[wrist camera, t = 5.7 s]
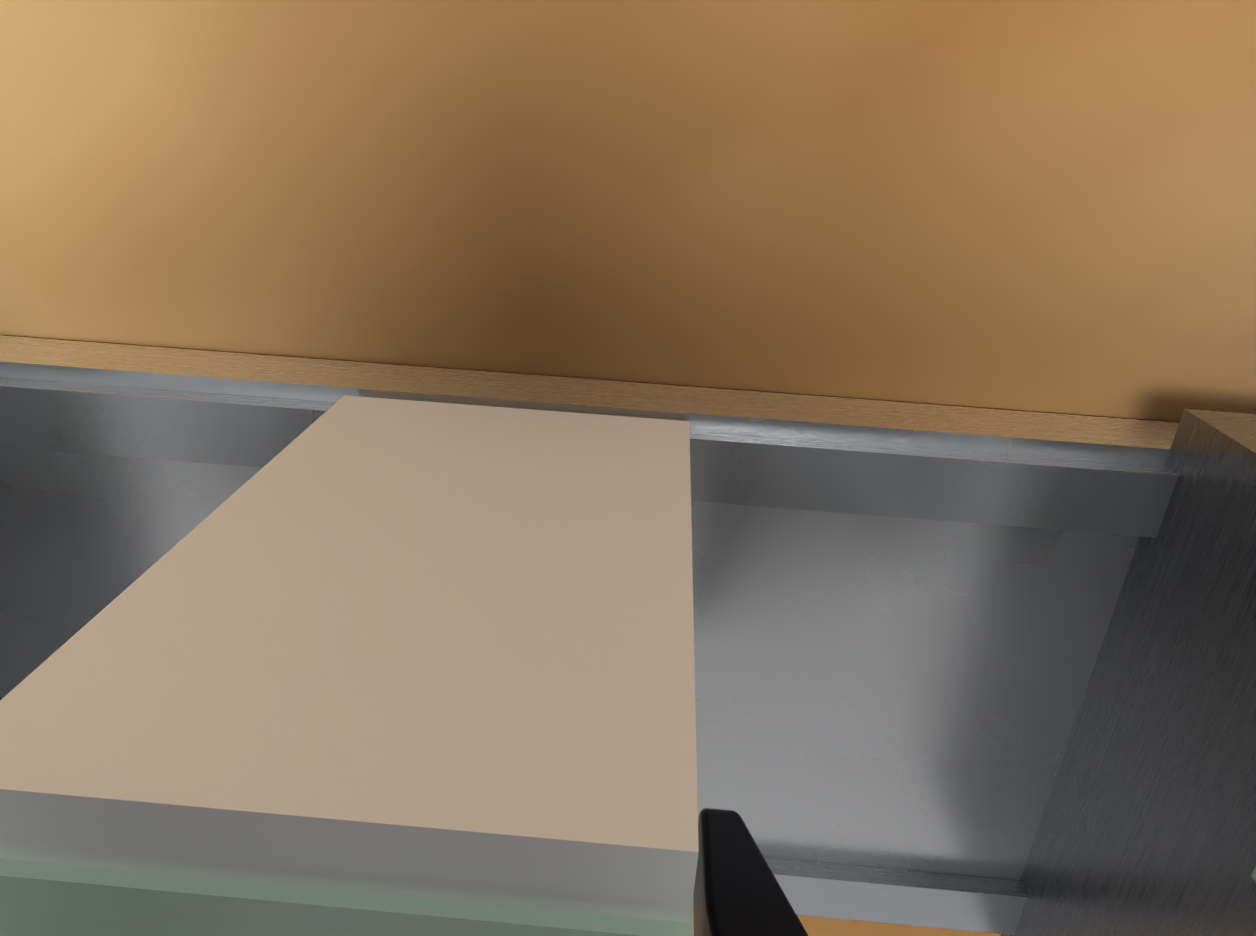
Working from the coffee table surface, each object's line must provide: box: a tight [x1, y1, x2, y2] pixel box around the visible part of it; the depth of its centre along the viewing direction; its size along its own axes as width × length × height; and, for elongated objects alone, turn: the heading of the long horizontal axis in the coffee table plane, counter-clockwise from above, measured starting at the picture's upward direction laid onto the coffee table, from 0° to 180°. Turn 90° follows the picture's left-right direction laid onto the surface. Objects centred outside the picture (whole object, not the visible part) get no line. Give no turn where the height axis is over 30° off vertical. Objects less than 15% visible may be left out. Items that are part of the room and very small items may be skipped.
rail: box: [0, 335, 1256, 936], centre depth 10 cm, size 20×9×5 cm, turn 87°
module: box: [0, 395, 699, 936], centre depth 9 cm, size 4×8×6 cm, turn 177°
